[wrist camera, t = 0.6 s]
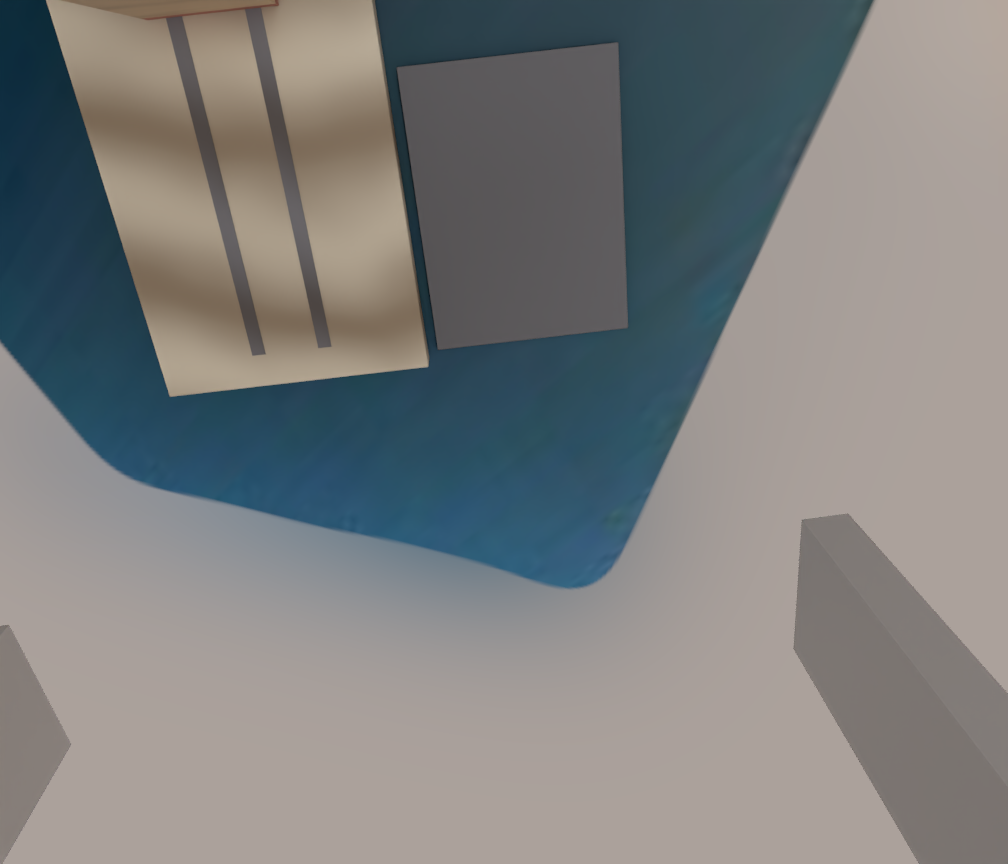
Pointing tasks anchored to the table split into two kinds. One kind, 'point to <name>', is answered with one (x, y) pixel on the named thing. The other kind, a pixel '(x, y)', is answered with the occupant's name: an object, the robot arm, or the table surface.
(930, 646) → the robot arm
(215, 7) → the block
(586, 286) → the mat
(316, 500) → the table surface
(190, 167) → the board
